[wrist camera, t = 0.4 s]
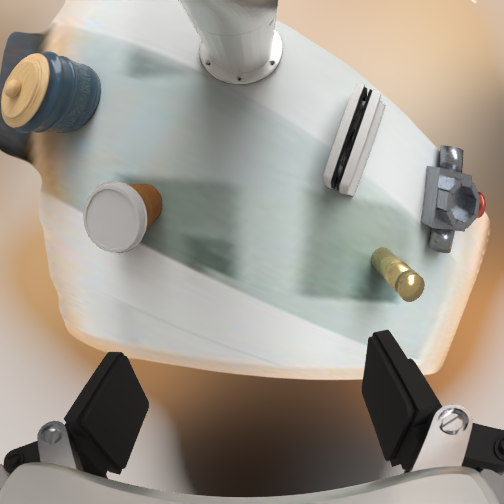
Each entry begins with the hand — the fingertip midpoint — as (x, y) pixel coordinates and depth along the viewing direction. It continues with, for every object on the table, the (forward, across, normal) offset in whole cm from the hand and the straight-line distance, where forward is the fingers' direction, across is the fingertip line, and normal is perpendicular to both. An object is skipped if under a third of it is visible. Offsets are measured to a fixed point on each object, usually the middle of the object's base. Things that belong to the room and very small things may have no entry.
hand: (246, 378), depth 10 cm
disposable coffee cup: (+36, +18, -4) cm, 40 cm away
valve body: (+35, -35, +1) cm, 50 cm away
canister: (+35, +30, -26) cm, 53 cm away
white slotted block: (+36, -16, -10) cm, 40 cm away
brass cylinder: (+36, -20, +10) cm, 42 cm away
